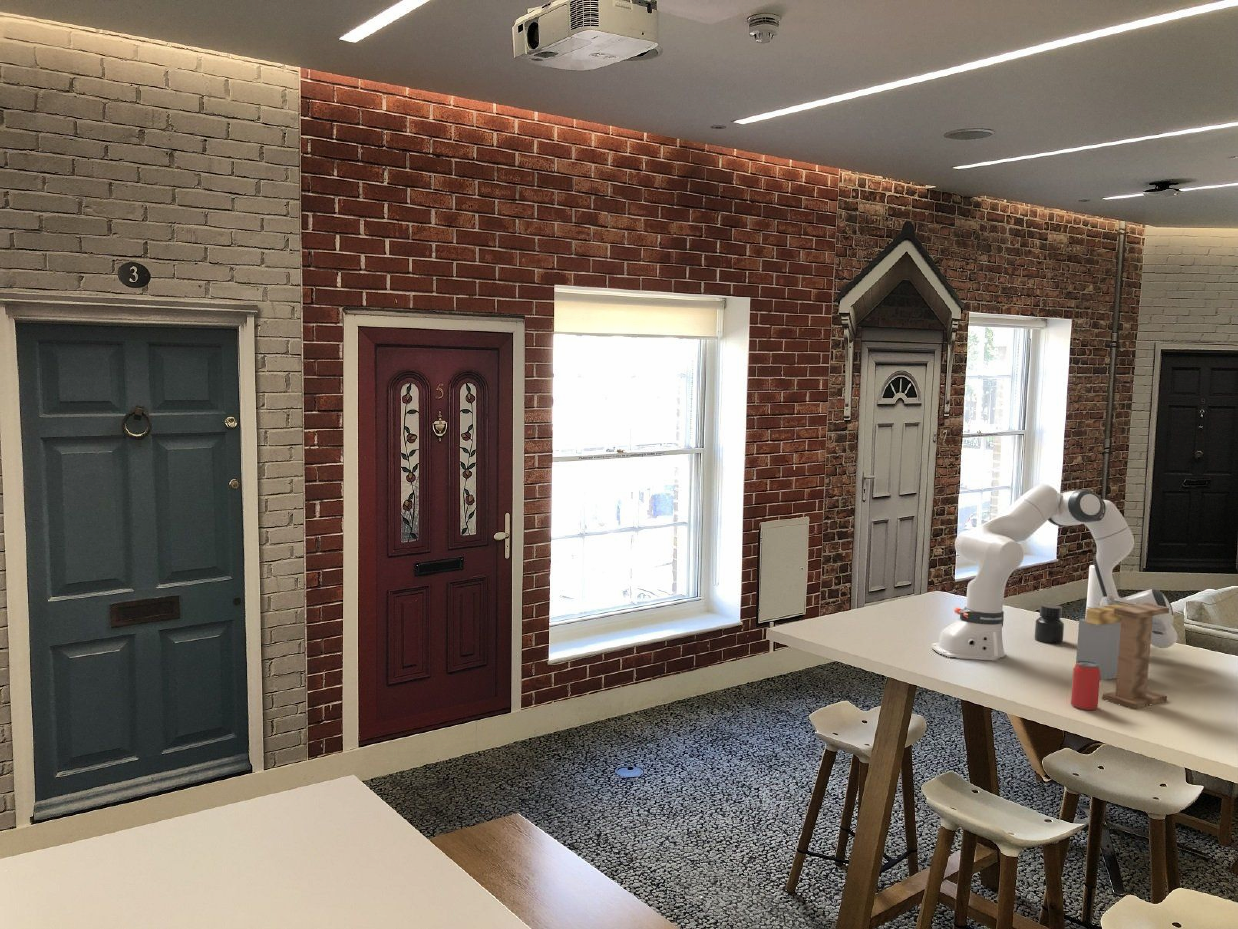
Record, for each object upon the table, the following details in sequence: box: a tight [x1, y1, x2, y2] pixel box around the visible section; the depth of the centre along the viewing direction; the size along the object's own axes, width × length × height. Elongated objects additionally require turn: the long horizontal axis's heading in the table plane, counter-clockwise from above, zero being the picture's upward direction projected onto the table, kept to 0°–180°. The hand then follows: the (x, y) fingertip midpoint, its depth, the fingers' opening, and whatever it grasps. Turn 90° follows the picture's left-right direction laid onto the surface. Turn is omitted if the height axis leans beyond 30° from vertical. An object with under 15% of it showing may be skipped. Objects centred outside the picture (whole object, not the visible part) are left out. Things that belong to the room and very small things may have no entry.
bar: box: [1085, 603, 1133, 625], centre depth 297 cm, size 19×4×4 cm, turn 121°
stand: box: [1101, 603, 1169, 710], centre depth 270 cm, size 16×9×26 cm, turn 121°
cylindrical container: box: [1085, 564, 1103, 612], centre depth 338 cm, size 7×7×25 cm
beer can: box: [1070, 661, 1101, 711], centre depth 264 cm, size 7×7×12 cm
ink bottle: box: [1034, 603, 1065, 644], centre depth 333 cm, size 10×9×12 cm
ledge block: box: [1075, 617, 1121, 681], centre depth 297 cm, size 14×10×16 cm
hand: (1123, 601), depth 299 cm, fingers open, 8 cm apart
